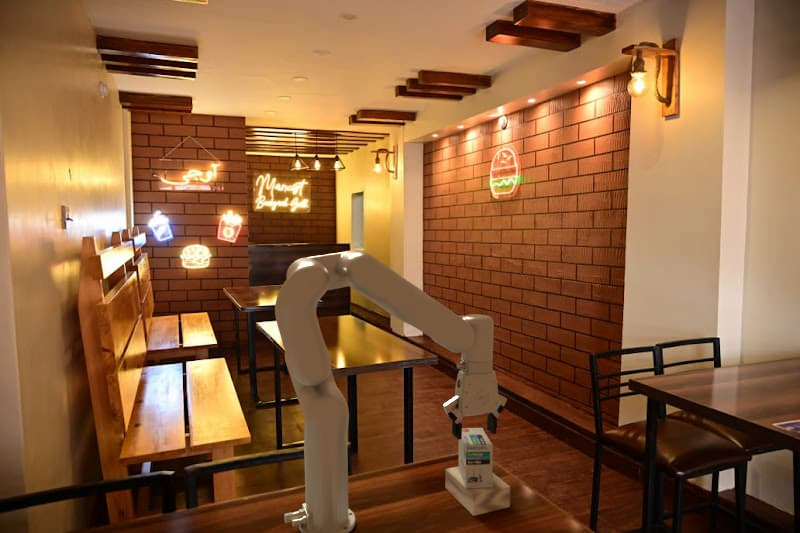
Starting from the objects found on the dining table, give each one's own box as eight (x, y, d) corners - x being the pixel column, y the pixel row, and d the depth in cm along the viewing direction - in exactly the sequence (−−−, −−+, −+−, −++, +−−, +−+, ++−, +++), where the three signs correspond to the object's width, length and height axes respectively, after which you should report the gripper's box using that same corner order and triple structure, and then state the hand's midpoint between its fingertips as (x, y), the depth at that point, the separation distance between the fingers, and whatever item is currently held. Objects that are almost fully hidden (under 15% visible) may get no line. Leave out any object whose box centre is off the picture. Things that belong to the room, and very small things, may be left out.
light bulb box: (493, 488, 123) (493, 444, 122) (465, 489, 123) (465, 445, 122) (483, 467, 134) (483, 426, 133) (457, 468, 133) (457, 427, 132)
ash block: (473, 515, 121) (473, 495, 120) (445, 487, 134) (445, 468, 133) (509, 506, 124) (510, 486, 124) (479, 480, 137) (479, 461, 137)
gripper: (452, 373, 119) (450, 445, 121) (515, 366, 126) (513, 435, 127) (437, 365, 126) (436, 433, 128) (498, 359, 133) (496, 424, 134)
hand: (474, 434), depth 127 cm, fingers open, 9 cm apart
